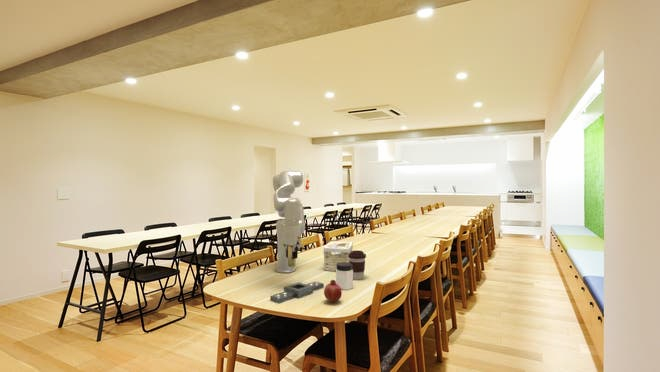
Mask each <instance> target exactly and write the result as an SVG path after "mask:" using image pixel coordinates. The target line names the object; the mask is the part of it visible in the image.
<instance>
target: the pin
mask: <svg viewBox="0 0 660 372" xmlns="http://www.w3.org/2000/svg"><path fill="white" fill-rule="evenodd" d="M295 248H296V246H295ZM292 251H293V246H290V245H288V266H289V267H296V265H297V263H296V262H297V261H296V259H297V258H296V259H292Z"/></svg>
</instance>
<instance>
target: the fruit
mask: <svg viewBox="0 0 660 372" xmlns="http://www.w3.org/2000/svg"><path fill="white" fill-rule="evenodd" d="M323 294H324V297H325V299H326V300H327V301H329V302H332V303H336V302H337V301H339V300H340V299H341V297H342V290H341V288H340V286H339V285H337V284H336V279H335V280H334V279H331V280H330V282H329V283H328V284H326V285H325V286H324V290H323Z"/></svg>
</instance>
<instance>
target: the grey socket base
mask: <svg viewBox="0 0 660 372" xmlns="http://www.w3.org/2000/svg"><path fill="white" fill-rule="evenodd" d="M323 288H324V289H325V284H324V283H323V282H319V281H312V282H310V283H303V282H299V281H298V282H296V283H293V284H288V285H286V286H283V291H280V292H277V293H276V294H273V295H270V298H269V299H270V300H269V301H271V302H274V303H277V304H281V303H284V302H287V301H290V300H292V299H295V298H296V299H301V298H303V297H307V296H308V295H311V294H314V292H315V291H317V290H320V289H323Z"/></svg>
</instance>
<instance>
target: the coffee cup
mask: <svg viewBox="0 0 660 372" xmlns="http://www.w3.org/2000/svg"><path fill="white" fill-rule="evenodd" d="M348 257H349V259H350V260H349V263H351V264H352V270H353V280H356V281H359V280H363V279H364V277H365V268H366V267H365V266H366V260H365V259H366V258H367V254H366V253H364V251H362V250H352V251H351V253H350V254H348Z"/></svg>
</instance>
